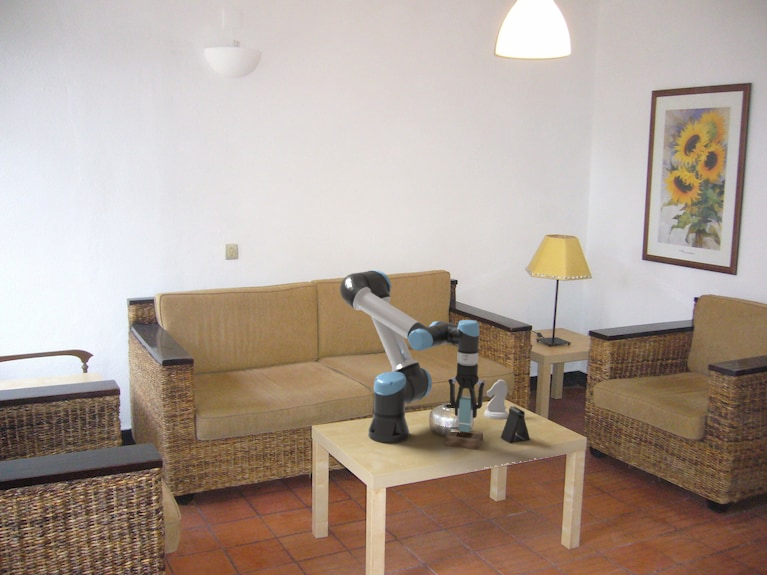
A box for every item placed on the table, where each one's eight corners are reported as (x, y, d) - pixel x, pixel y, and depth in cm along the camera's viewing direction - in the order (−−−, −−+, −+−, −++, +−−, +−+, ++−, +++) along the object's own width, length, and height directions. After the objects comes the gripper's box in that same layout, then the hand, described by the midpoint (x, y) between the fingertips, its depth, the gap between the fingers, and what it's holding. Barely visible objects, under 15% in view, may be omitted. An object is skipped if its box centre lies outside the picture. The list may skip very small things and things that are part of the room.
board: (444, 444, 286) (445, 437, 285) (451, 436, 295) (451, 428, 295) (477, 449, 282) (477, 441, 282) (483, 440, 291) (483, 432, 291)
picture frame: (520, 435, 298) (522, 404, 296) (529, 440, 293) (531, 409, 291) (500, 438, 294) (502, 407, 292) (509, 443, 289) (511, 412, 287)
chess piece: (482, 411, 325) (484, 376, 323) (506, 411, 326) (507, 376, 323) (485, 419, 316) (487, 383, 313) (510, 419, 316) (512, 383, 313)
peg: (458, 430, 286) (459, 399, 284) (461, 427, 290) (462, 396, 288) (469, 432, 285) (470, 400, 283) (471, 428, 289) (472, 397, 287)
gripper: (442, 363, 283) (440, 425, 287) (488, 367, 277) (486, 431, 281) (447, 358, 290) (445, 419, 294) (493, 363, 284) (490, 424, 288)
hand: (465, 424), depth 287 cm, fingers closed on peg, 4 cm apart
